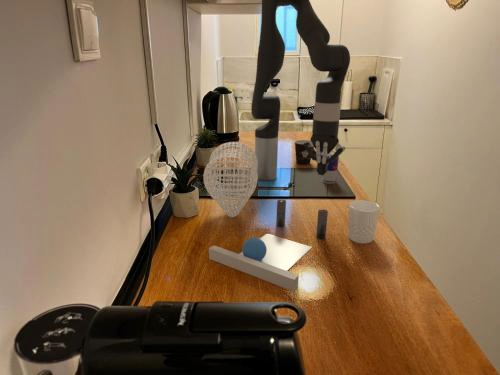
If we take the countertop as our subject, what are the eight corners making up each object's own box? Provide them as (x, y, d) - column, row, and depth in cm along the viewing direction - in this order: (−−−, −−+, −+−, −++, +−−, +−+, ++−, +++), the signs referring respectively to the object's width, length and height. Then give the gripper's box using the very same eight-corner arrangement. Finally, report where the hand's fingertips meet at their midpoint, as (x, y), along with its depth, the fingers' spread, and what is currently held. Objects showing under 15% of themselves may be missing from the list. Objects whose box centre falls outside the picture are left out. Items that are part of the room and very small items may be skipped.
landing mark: (239, 254, 98) (239, 253, 98) (267, 234, 109) (267, 233, 109) (286, 271, 90) (286, 271, 90) (311, 247, 101) (311, 247, 101)
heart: (213, 199, 133) (211, 137, 125) (256, 200, 133) (258, 138, 125) (202, 236, 107) (199, 161, 99) (256, 237, 107) (258, 162, 99)
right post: (314, 237, 107) (316, 211, 104) (318, 234, 109) (320, 208, 106) (323, 240, 105) (325, 214, 103) (326, 236, 107) (329, 211, 105)
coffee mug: (291, 164, 174) (292, 143, 170) (296, 159, 181) (297, 139, 178) (316, 167, 170) (318, 145, 166) (320, 162, 177) (322, 141, 174)
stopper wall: (209, 258, 96) (208, 248, 95) (214, 255, 97) (213, 245, 96) (293, 291, 83) (294, 279, 82) (297, 286, 85) (298, 275, 84)
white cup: (375, 234, 109) (379, 202, 106) (374, 247, 102) (379, 213, 99) (347, 230, 112) (351, 198, 108) (344, 242, 105) (348, 209, 101)
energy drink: (336, 184, 149) (339, 155, 145) (322, 183, 150) (324, 154, 146) (336, 180, 154) (338, 151, 149) (322, 179, 155) (325, 150, 150)
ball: (234, 255, 93) (243, 232, 93) (246, 258, 98) (255, 236, 98) (253, 264, 90) (262, 241, 90) (265, 266, 95) (274, 244, 95)
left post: (274, 226, 114) (275, 201, 111) (278, 223, 116) (279, 198, 113) (282, 228, 112) (283, 203, 109) (286, 225, 114) (287, 200, 111)
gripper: (299, 117, 110) (296, 173, 116) (343, 122, 103) (337, 182, 109) (310, 113, 116) (307, 167, 122) (352, 118, 109) (346, 175, 115)
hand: (321, 174), depth 116 cm, fingers closed
